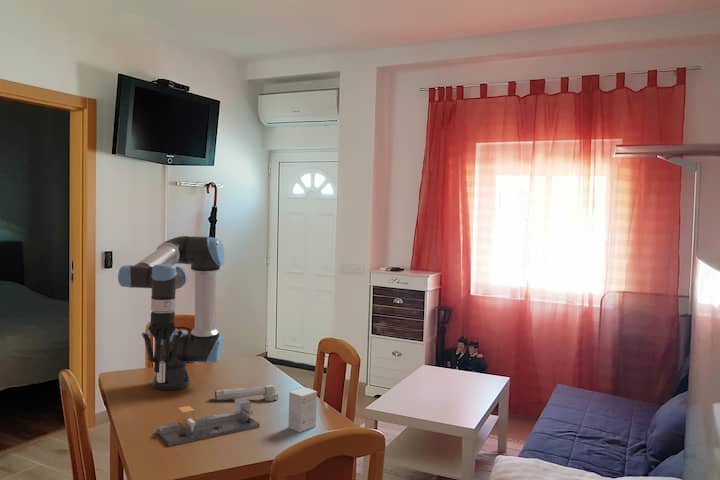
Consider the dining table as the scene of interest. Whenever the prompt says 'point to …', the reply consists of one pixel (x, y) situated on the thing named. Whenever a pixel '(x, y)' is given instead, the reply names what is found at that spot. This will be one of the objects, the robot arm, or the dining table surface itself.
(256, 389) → the white elongated piece
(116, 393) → the dining table surface
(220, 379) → the dining table surface
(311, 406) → the small box
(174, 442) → the bolt plate
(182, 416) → the block
